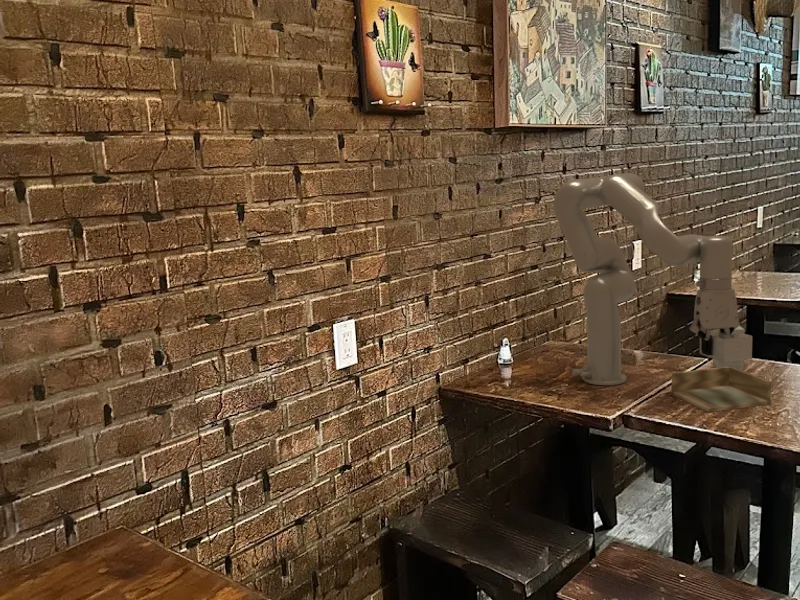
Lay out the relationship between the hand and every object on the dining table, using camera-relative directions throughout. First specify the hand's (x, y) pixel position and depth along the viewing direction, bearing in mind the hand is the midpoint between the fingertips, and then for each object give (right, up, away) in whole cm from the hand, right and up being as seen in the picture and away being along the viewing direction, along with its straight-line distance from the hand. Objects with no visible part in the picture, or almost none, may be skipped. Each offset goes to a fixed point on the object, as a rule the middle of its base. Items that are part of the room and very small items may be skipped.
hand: (714, 352), depth 187 cm
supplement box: (+18, -7, +31) cm, 36 cm away
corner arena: (+3, -13, +3) cm, 13 cm away
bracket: (+2, -1, -1) cm, 3 cm away
